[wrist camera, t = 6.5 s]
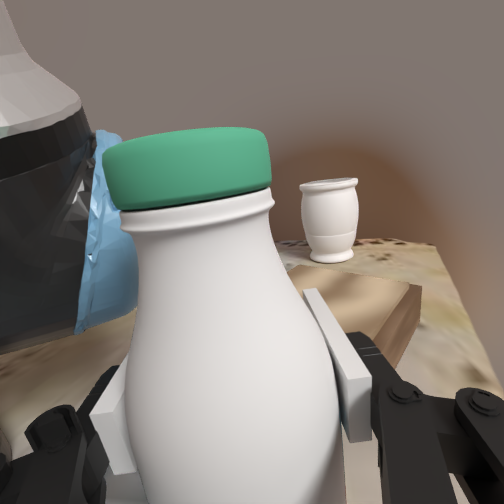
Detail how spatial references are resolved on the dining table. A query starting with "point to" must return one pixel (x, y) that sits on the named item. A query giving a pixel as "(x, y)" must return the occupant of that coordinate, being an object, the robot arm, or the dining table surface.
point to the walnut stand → (366, 305)
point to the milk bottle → (220, 331)
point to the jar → (330, 218)
